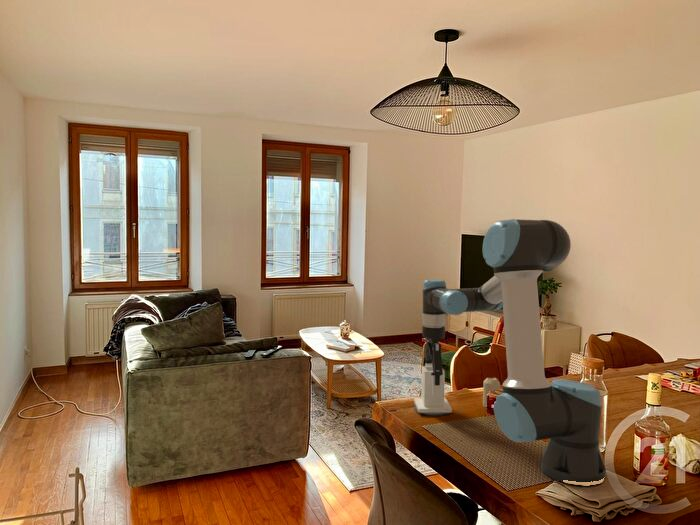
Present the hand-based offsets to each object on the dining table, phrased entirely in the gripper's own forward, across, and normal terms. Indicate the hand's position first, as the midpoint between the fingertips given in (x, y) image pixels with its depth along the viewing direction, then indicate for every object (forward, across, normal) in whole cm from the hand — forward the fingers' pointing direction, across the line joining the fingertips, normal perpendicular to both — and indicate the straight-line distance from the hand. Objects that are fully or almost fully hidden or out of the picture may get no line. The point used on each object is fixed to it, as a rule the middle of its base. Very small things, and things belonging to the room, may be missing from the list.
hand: (432, 388), depth 178 cm
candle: (+8, +3, -21) cm, 23 cm away
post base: (+7, 0, 0) cm, 8 cm away
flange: (+6, 0, 0) cm, 7 cm away
